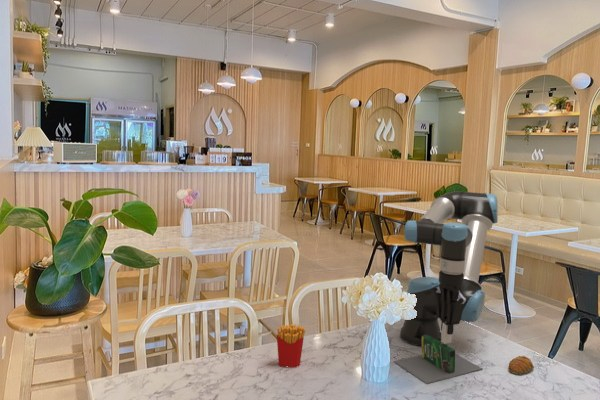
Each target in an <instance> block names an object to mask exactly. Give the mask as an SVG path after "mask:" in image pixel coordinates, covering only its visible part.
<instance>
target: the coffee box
mask: <svg viewBox="0 0 600 400" xmlns="http://www.w3.org/2000/svg"><path fill="white" fill-rule="evenodd" d="M455 354H456V348H453V347H451V346H450V345H447V344H444V343H442V342H440V341H438V340H437V339H435V338H433V337H431V336H429V335H424V336H422V346H421V355H422V358H424V359H426V360H427V361H429V362H431V363H432V364H434V365H436V366H437V367H439V368H441V369H442V370H444V371H446V372H447V373H452V372H455Z"/></svg>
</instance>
